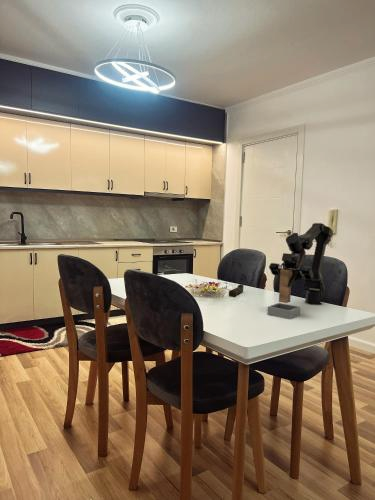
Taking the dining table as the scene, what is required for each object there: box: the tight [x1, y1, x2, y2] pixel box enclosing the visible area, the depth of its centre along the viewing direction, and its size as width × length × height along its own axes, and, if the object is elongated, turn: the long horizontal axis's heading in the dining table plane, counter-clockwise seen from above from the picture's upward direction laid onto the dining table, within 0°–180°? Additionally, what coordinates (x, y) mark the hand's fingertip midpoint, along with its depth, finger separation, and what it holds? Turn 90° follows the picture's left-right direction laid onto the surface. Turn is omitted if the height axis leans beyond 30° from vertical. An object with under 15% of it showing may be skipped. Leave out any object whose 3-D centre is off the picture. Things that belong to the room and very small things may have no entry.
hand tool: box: [228, 283, 244, 298], centre depth 206 cm, size 19×4×5 cm, turn 152°
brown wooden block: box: [278, 269, 293, 304], centre depth 162 cm, size 4×4×14 cm
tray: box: [267, 302, 302, 320], centre depth 163 cm, size 10×10×4 cm
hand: (284, 286), depth 161 cm, fingers closed on brown wooden block, 4 cm apart
